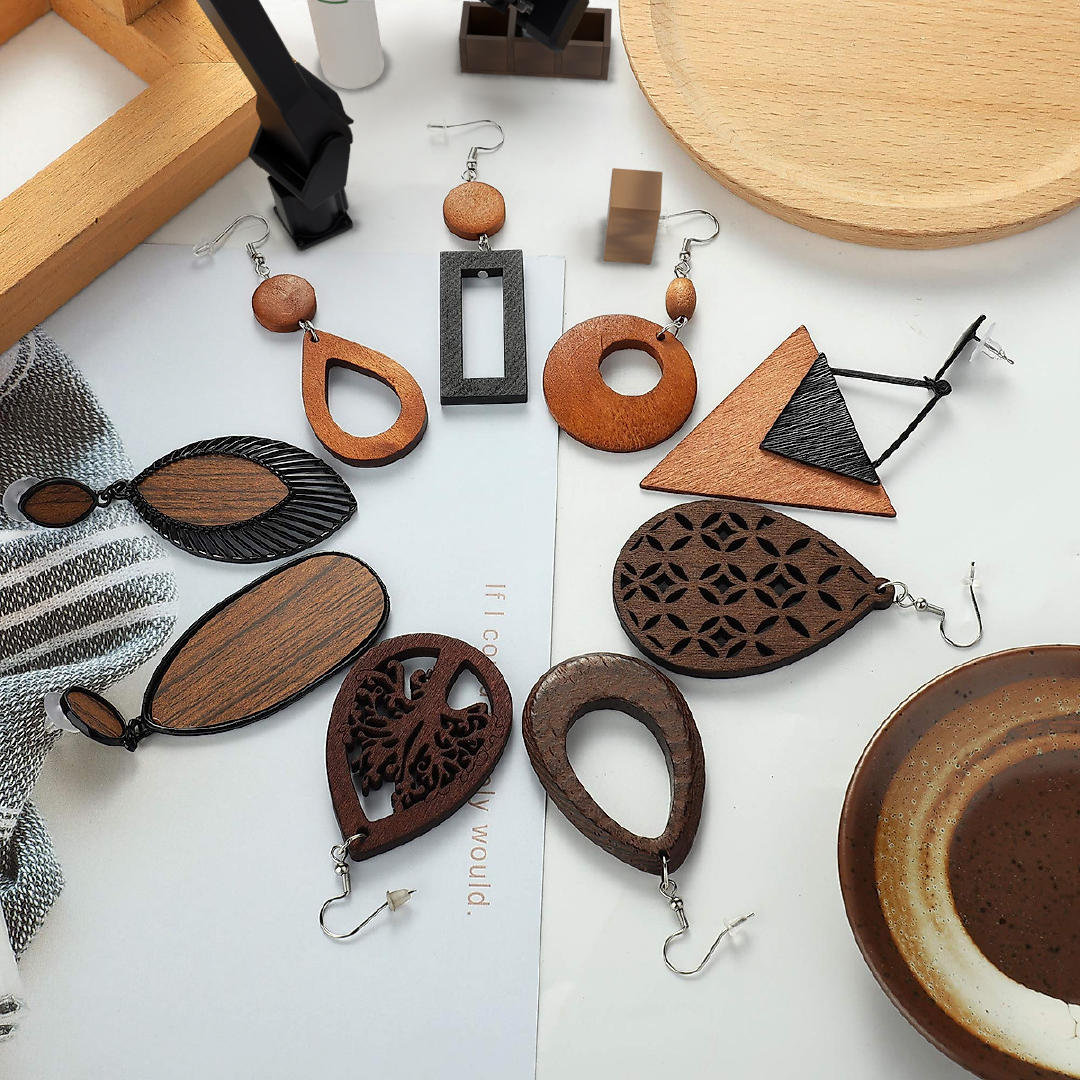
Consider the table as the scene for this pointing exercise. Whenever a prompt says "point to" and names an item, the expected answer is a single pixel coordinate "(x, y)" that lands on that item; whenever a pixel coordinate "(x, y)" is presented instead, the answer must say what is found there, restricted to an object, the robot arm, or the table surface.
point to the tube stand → (632, 215)
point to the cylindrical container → (347, 41)
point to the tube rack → (532, 45)
